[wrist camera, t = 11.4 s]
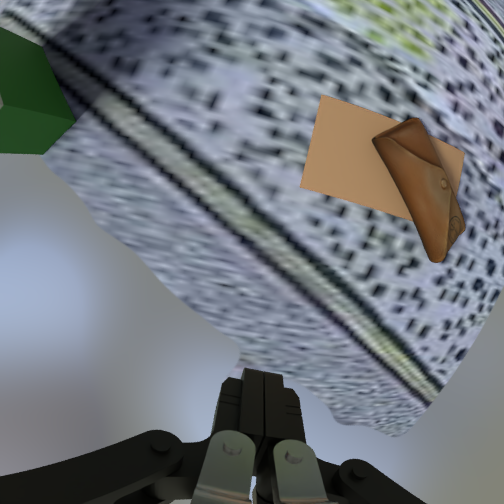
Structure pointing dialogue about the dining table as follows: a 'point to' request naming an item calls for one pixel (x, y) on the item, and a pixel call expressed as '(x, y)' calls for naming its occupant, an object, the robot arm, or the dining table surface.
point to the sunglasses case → (422, 185)
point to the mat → (361, 158)
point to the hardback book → (29, 98)
